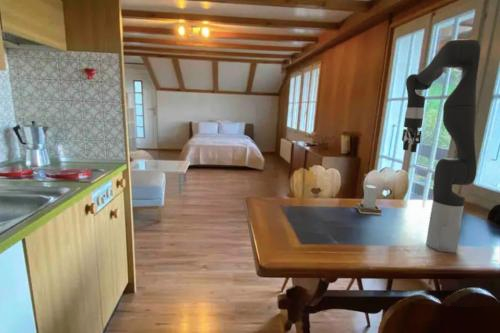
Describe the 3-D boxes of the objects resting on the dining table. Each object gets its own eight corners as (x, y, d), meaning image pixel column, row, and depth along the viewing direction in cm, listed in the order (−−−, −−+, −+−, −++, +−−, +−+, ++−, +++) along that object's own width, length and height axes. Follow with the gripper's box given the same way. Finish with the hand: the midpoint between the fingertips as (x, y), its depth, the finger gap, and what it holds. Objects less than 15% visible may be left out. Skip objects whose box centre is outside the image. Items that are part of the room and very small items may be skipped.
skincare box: (375, 211, 138) (377, 188, 136) (366, 211, 138) (368, 187, 136) (370, 207, 144) (373, 185, 142) (362, 207, 144) (364, 184, 142)
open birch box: (380, 214, 136) (381, 210, 136) (360, 213, 138) (361, 208, 137) (375, 209, 145) (376, 204, 144) (356, 207, 146) (357, 203, 145)
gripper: (429, 118, 126) (424, 153, 129) (415, 117, 140) (410, 149, 143) (412, 117, 127) (407, 152, 130) (399, 117, 141) (395, 149, 144)
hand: (409, 151), depth 136 cm, fingers open, 8 cm apart
